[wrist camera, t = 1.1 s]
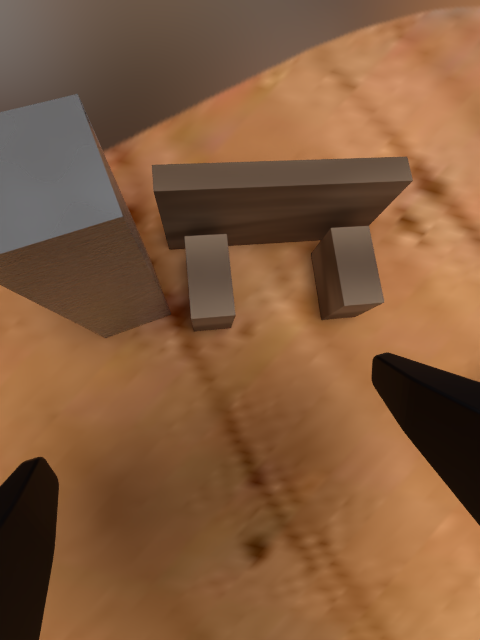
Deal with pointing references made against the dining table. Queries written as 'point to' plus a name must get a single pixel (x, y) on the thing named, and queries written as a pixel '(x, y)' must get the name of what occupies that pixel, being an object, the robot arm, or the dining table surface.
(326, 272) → the bench
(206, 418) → the dining table surface
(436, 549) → the dining table surface
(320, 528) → the dining table surface
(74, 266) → the grey square pillar
